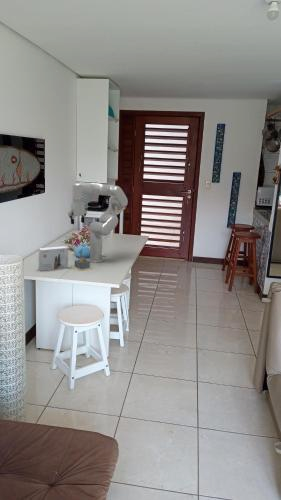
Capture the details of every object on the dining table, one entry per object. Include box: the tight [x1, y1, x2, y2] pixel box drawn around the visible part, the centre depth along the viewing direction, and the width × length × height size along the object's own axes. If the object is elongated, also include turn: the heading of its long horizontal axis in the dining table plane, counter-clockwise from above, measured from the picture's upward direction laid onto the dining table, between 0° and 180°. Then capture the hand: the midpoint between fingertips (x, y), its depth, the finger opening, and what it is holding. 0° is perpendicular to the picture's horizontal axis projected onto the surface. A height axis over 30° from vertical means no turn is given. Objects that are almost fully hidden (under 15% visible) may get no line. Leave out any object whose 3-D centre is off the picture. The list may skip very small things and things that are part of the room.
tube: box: [72, 259, 93, 272], centre depth 283 cm, size 11×11×5 cm
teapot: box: [71, 242, 90, 259], centre depth 314 cm, size 15×15×10 cm
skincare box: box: [37, 245, 69, 272], centre depth 275 cm, size 21×6×16 cm, turn 126°
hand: (77, 223), depth 282 cm, fingers open, 9 cm apart
